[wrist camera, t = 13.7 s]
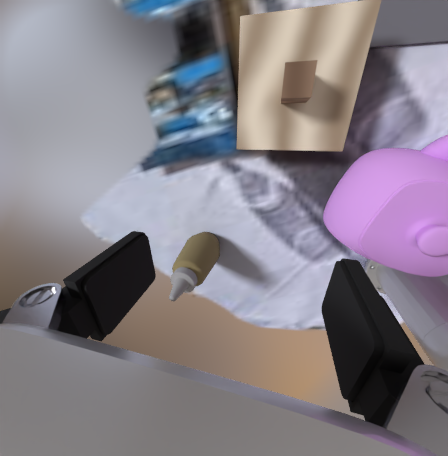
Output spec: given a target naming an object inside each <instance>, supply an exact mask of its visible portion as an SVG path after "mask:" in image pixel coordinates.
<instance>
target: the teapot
mask: <svg viewBox="0 0 448 456" xmlns="http://www.w3.org/2000/svg"><path fill="white" fill-rule="evenodd" d="M323 219H324V223H325V225H326V227H327V228H328V230H329V231H330V232H331V233H332V235H333V236H335V237H336V238H337V239H338V240H339V241H340V242H341V243H343V244H344V245H346V246H347V247H348V248H350V249H351V250H353V251H355V252H356V253H358V254H360V255H362V256H364V257H366V258H368V259H370V260H372V261H374V262H377V263H379V264H382V265H384V266H387V267H390V268H393V269H396V270H399V271H403V272H406V273H410V274H414V275H420V276H427V277H438V276H443V275H447V274H448V135H446V136H444V137H441V138H439V139H437V140H435V141H434V142H432V143H431V144H429V145H428V146H426V147H425V148H423V149H422V150H421V151H419V150H413V149H404V148H385V149H378V150H373V151H371V152H368V153H366V154H364V155H362V156H361V157H360V158H358V159H357V160H356V161H355V162H354V163H353V164H352V165H351V167H350V168H349V169H348V170H347V171H346V173H345V174H344V175H343V177H342V178H341V180H340V181H339V182H338V184H337V185H336V187H335V189H334V191H333V192H332V194H331V196H330V198H329V200H328V202H327V205H326V207H325V210H324V215H323Z"/></svg>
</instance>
